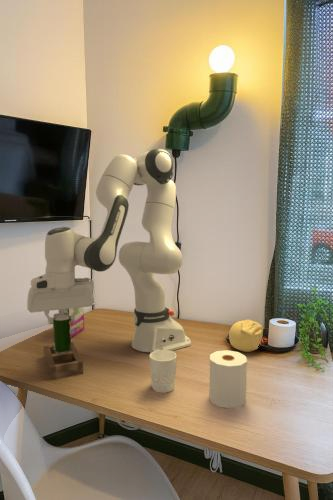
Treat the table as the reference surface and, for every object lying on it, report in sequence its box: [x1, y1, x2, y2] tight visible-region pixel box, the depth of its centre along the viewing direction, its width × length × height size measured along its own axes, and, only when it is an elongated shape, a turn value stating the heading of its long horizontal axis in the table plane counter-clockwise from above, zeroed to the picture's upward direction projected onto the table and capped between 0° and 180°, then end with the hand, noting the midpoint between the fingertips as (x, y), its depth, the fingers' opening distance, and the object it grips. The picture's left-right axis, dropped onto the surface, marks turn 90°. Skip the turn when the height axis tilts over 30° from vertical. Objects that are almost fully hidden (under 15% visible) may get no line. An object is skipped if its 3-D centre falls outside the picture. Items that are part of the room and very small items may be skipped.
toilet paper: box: [208, 349, 248, 409], centre depth 107 cm, size 10×10×12 cm
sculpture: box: [228, 319, 264, 353], centre depth 141 cm, size 12×12×11 cm
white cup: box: [149, 350, 177, 394], centre depth 113 cm, size 8×8×10 cm
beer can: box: [52, 312, 72, 354], centre depth 122 cm, size 5×5×12 cm
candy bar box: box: [58, 307, 85, 339], centre depth 156 cm, size 11×5×16 cm, turn 161°
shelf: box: [43, 341, 84, 381], centre depth 128 cm, size 10×18×4 cm, turn 24°
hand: (61, 322), depth 122 cm, fingers closed on beer can, 5 cm apart
